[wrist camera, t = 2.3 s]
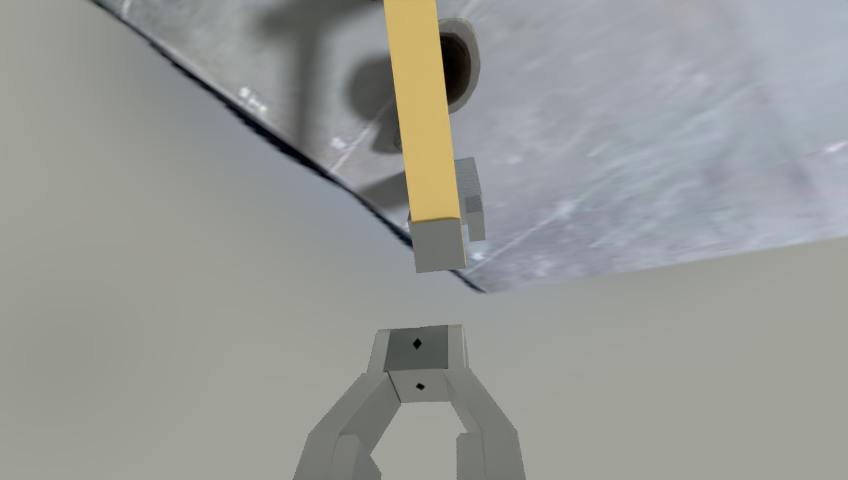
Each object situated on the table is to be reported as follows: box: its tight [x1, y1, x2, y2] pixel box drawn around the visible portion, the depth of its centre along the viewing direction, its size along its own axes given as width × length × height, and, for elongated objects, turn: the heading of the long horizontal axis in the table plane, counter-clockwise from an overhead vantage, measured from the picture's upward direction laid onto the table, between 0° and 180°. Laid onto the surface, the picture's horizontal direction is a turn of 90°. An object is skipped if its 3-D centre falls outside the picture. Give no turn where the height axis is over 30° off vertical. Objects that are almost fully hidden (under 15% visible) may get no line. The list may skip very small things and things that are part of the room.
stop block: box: [407, 158, 485, 242], centre depth 32 cm, size 3×7×13 cm, turn 100°
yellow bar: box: [384, 0, 466, 273], centre depth 18 cm, size 21×3×2 cm
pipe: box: [393, 18, 480, 151], centre depth 29 cm, size 6×13×8 cm, turn 156°
